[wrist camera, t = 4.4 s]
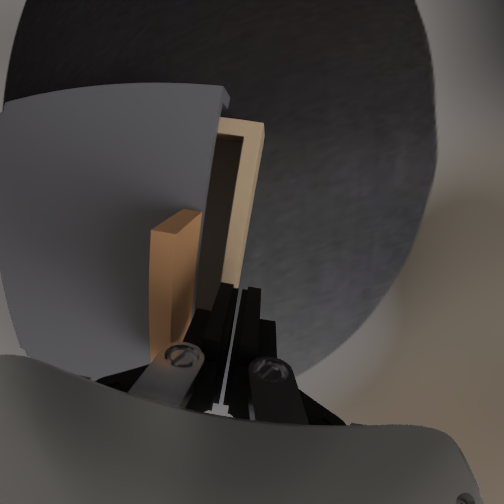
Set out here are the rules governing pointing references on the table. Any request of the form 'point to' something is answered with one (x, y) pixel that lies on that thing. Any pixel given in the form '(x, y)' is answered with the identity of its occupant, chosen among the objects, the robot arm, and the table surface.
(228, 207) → the box
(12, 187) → the lid
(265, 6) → the table surface
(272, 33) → the table surface
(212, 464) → the robot arm
